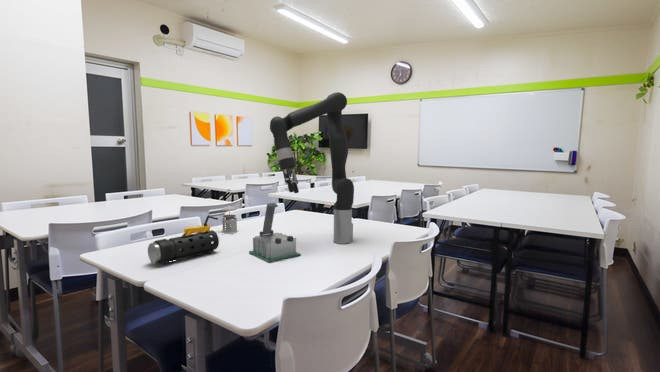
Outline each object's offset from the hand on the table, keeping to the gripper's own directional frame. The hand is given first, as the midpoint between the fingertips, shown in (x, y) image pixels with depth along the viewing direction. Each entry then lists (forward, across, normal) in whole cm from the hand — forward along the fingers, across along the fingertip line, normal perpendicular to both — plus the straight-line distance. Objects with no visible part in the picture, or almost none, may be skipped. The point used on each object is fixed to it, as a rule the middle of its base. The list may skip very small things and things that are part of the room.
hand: (294, 192), depth 163 cm
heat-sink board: (+25, -3, +15) cm, 30 cm away
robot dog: (+11, +11, +56) cm, 58 cm away
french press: (+8, +33, +51) cm, 61 cm away
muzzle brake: (+17, -15, +51) cm, 55 cm away
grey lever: (+10, -4, +13) cm, 17 cm away
